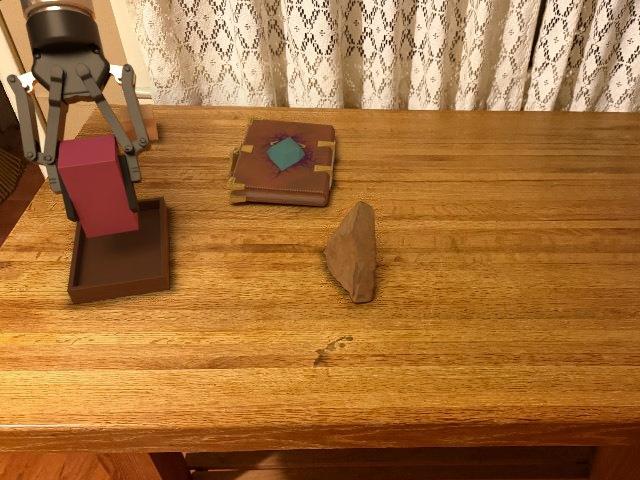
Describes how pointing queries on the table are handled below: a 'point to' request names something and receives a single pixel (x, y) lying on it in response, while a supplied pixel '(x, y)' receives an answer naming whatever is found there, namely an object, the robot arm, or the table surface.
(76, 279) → the tray
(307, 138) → the book
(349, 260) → the rock
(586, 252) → the table surface
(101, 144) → the top block
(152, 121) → the base block
